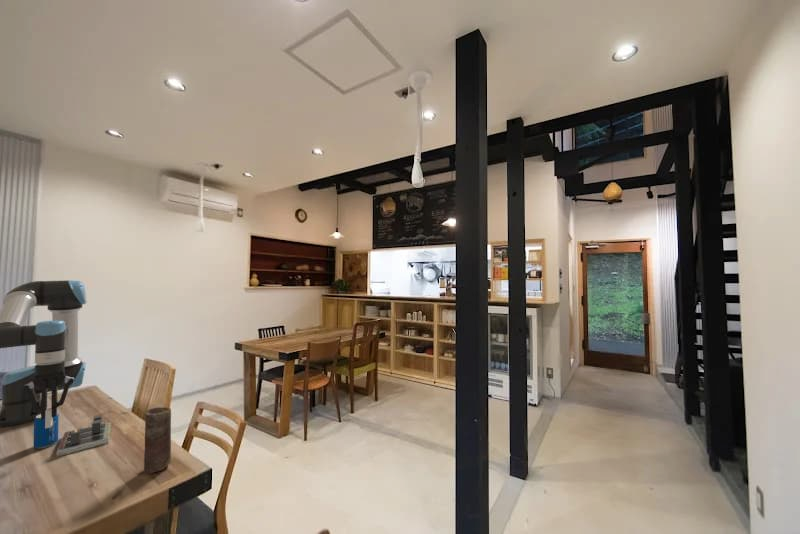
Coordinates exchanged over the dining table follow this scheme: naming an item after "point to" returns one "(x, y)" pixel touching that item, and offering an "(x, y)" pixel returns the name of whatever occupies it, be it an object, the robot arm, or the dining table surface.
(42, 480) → the dining table surface
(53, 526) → the dining table surface
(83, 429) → the panel
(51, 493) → the dining table surface
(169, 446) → the candle
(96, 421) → the block
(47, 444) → the beverage can
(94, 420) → the breaker
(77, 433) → the breaker
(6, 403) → the robot arm
